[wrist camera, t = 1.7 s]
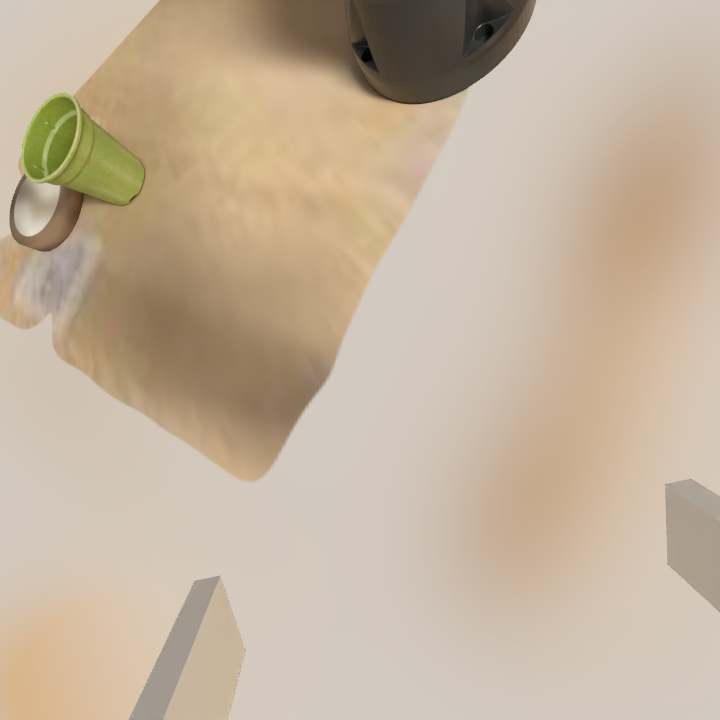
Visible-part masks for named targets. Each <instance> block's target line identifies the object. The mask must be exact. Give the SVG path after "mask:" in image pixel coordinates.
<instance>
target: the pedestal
mask: <svg viewBox="0 0 720 720" xmlns="http://www.w3.org/2000/svg"><path fill="white" fill-rule="evenodd" d="M82 200H83V193H82V192H79V191H76V190H73V189H70V188H67V187H64V186H61V185H52V184H49V183H36V182H33V181H31V180H29V179H28V178H27V176H26V175H25V174H24V175H23V177H22V179H21V180H20V182H19V184H18V186H17V188H16V190H15V193H14V196H13V200H12V204H11V208H10V228H11V232H12V235H13V237H14V239H15V240H16V241H17V242H18V243H19V244H22V245H24V246H27V247H30V248H33V249H36V250H39V251H50V250H52V249H54V248H56V247H57V246H59V245H60V244H61V243H62V242H63V241H64V240H65V239H66V238H67V237H68V235H69V234H70V232H71V231H72V229H73V227H74V226H75V224H76V221H77V219H78V216H79V214H80V210H81V206H82Z"/></svg>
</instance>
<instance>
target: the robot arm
mask: <svg viewBox="0 0 720 720" xmlns="http://www.w3.org/2000/svg"><path fill="white" fill-rule="evenodd" d="M535 3H536V0H345V7H346V15H347V22H348V30H349V37H350V43H351V47H352V50H353V53H354V56H355V58H356V60H357V62H358V64H359V67H360V69H361V71H362V73H363V75H364V77H365V78H366V80H367V81H368V83H369V84H370V85H371V86H372V87H373V88H374V89H375V90H376V91H377V92H378V93H380V94H381V95H383V96H385V97H387V98H389V99H392V100H396V101H400V102H407V103H420V102H428V101H434V100H438V99H441V98H445V97H447V96H450V95H453V94H455V93H457V92H459V91H461V90H463V89H465V88H467V87H469V86H471V85H472V84H474V83H475V82H477V81H478V80H480V79H481V78H483V77H484V76H485V75H487V74H488V73H489V72H490V71H492V70H493V69H494V68H495V67H496V66H497V65H498V64H499V63H500V62H501V61H502V60H503V59H504V58H505V57H506V56H507V55H508V53H509V52H510V51H511V50H512V49H513V47H514V46H515V45H516V43H517V42H518V40H519V39H520V37H521V36H522V34H523V32H524V31H525V29H526V27H527V25H528V23H529V21H530V18H531V16H532V13H533V9H534V6H535ZM665 493H666V526H667V560H668V565H669V566H670V567H671V568H672V569H673V570H674V571H676V572H677V573H678V574H679V575H680V576H681V577H682V578H683V579H684V580H685V581H687V582H688V583H689V584H690V585H691V586H692V587H693V588H694V589H695V590H696V591H697V592H699V593H700V594H701V595H702V596H703V597H704V598H705V599H706V600H707V601H708V602H709V603H710V604H711V605H713V606H714V607H715V608H716V609H717V610H718V611H719V612H720V496H719V495H717V494H715V493H714V492H712V491H710V490H709V489H707V488H705V487H704V486H702V485H700V484H699V483H697V482H696V481H694V480H692V479H689V480H684V481H679V482H674V483H669V484H665ZM244 654H245V648H244V645H243V642H242V639H241V636H240V633H239V630H238V627H237V624H236V621H235V618H234V615H233V612H232V609H231V606H230V603H229V600H228V598H227V594H226V591H225V588H224V585H223V582H222V579H221V576H217V577H212V578H207V579H203V580H197V581H195V582H194V583H193V585H192V587H191V590H190V592H189V594H188V596H187V598H186V600H185V602H184V605H183V607H182V609H181V611H180V613H179V615H178V617H177V619H176V621H175V623H174V626H173V628H172V630H171V632H170V634H169V636H168V638H167V640H166V643H165V645H164V647H163V649H162V651H161V653H160V655H159V657H158V659H157V661H156V664H155V666H154V668H153V670H152V672H151V674H150V676H149V678H148V680H147V683H146V685H145V687H144V689H143V691H142V693H141V695H140V697H139V699H138V702H137V704H136V706H135V708H134V710H133V712H132V714H131V716H130V719H129V720H228V717H229V713H230V709H231V706H232V702H233V698H234V694H235V690H236V686H237V682H238V678H239V674H240V670H241V666H242V662H243V658H244Z"/></svg>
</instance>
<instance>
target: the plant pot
mask: <svg viewBox="0 0 720 720" xmlns="http://www.w3.org/2000/svg"><path fill="white" fill-rule="evenodd" d="M21 159H22V167H23V170H24V173H25V175H26V176H27V178H28V179H29V180H31V181H33V182H36V183H49V184H52V185H61V186H64V187H67V188H70V189H73V190H76V191H79V192H82V193H85V194H88V195H90V196H93V197H96V198H99V199H102V200H104V201H107V202H110V203H113V204H116V205H119V206H123V205H126V204H128V203H130V200H131V198H132V197H134V196H135V195H137V194H138V193H139V191H140V189H141V187H142V184H143V181H144V168H143V166H142V164H141V162H140V159H138V158H137V157H136V156H135V155H134V154H132V153H131V152H130V151H129V150H128V149H126V148H125V147H124V146H123V145H121V144H120V143H119V142H118V141H117V140H115V139H114V138H113V137H112V136H111V135H109V134H108V133H107V132H106V131H105V130H103V129H102V128H101V127H100V126H99V125H98V124H96V123H95V122H94V121H93V120H92V119H91V118H90V117H89V115H88V114H87V113H86V112H85V111H84V110H83V109H82V108H81V107H80V105H79V103H78V101H77V100H76V99H75V98H74V97H73V96H71V95H69V94H66V93H60V94H57V95H54V96H52V97H51V98H50V99H48V100H47V101H46V102H45V103H44V104H43V105H42V106H41V107H40V108H39V109H38V111H37V112H36V114H35V115H34V117H33V119H32V121H31V123H30V125H29V126H28V129H27V131H26V134H25V139H24V142H23V146H22V155H21Z"/></svg>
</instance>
